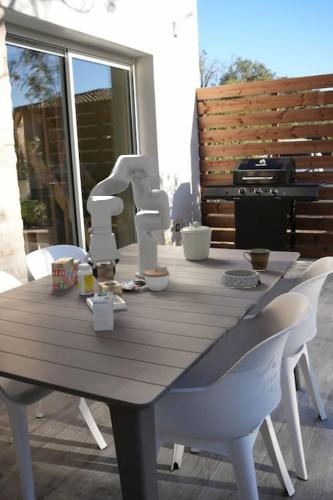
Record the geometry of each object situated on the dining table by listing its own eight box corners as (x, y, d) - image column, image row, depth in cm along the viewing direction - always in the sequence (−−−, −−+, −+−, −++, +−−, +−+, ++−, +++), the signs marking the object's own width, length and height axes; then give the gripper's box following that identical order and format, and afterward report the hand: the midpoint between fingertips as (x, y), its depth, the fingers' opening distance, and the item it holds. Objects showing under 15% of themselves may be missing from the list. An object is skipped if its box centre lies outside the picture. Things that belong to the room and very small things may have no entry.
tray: (117, 300, 207) (117, 294, 207) (125, 308, 196) (125, 302, 195) (86, 304, 203) (86, 298, 203) (93, 313, 192) (93, 306, 191)
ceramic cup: (268, 268, 257) (268, 248, 255) (270, 272, 247) (270, 252, 246) (242, 268, 259) (242, 248, 257) (243, 272, 249) (243, 252, 247)
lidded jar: (151, 293, 216) (150, 272, 215) (141, 288, 226) (140, 267, 224) (173, 290, 221) (173, 268, 219) (162, 284, 230) (161, 264, 229)
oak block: (117, 294, 217) (116, 280, 216) (122, 299, 210) (121, 285, 209) (99, 296, 215) (98, 283, 213) (103, 301, 207) (102, 287, 206)
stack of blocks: (70, 278, 250) (68, 253, 248) (82, 278, 249) (80, 253, 246) (52, 289, 229) (50, 262, 227) (66, 289, 228) (64, 262, 226)
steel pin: (114, 295, 212) (113, 267, 210) (108, 296, 210) (107, 267, 209) (112, 294, 214) (111, 266, 213) (106, 295, 213) (105, 266, 211)
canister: (191, 254, 298) (191, 219, 294) (218, 257, 288) (218, 220, 284) (174, 260, 284) (173, 222, 280) (201, 263, 273) (201, 224, 269)
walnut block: (110, 276, 201) (109, 262, 200) (113, 280, 196) (113, 264, 195) (95, 278, 199) (94, 263, 198) (98, 281, 194) (97, 266, 192)
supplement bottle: (96, 292, 222) (95, 263, 219) (89, 296, 215) (88, 266, 213) (83, 291, 224) (81, 262, 222) (75, 295, 218) (73, 265, 215)
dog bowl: (264, 280, 233) (264, 269, 232) (253, 290, 217) (253, 278, 216) (228, 278, 240) (228, 267, 239) (215, 287, 224) (215, 275, 223)
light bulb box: (95, 321, 182) (93, 292, 180) (114, 320, 183) (112, 291, 181) (93, 331, 172) (92, 300, 170) (113, 330, 172) (112, 299, 170)
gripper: (81, 233, 188) (84, 281, 191) (126, 230, 193) (128, 276, 197) (77, 231, 195) (80, 277, 198) (121, 227, 200) (123, 272, 204)
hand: (104, 276), depth 197 cm, fingers closed on walnut block, 6 cm apart
